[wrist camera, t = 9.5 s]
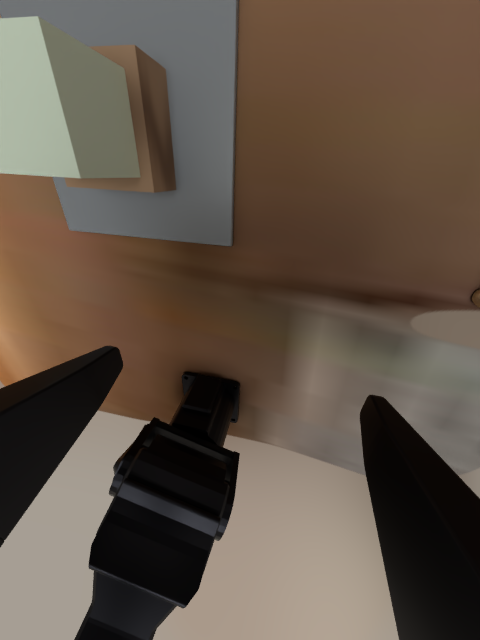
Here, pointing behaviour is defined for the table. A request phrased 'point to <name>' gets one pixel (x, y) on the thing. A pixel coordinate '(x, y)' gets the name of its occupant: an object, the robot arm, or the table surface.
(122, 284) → the table surface
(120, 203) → the slate pad
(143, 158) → the walnut block
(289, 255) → the table surface
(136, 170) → the sage cube
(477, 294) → the lion figurine
